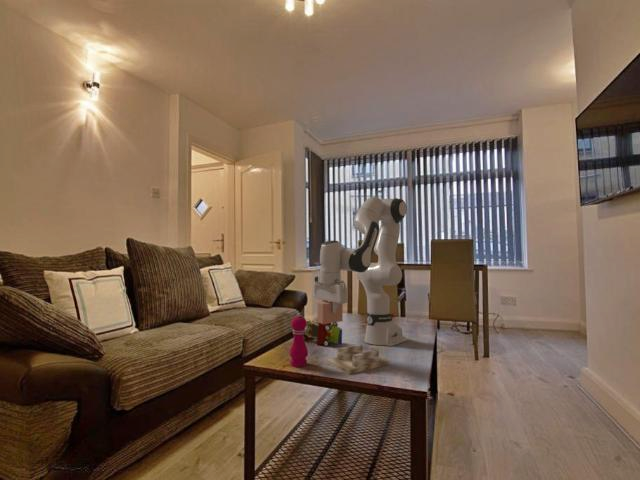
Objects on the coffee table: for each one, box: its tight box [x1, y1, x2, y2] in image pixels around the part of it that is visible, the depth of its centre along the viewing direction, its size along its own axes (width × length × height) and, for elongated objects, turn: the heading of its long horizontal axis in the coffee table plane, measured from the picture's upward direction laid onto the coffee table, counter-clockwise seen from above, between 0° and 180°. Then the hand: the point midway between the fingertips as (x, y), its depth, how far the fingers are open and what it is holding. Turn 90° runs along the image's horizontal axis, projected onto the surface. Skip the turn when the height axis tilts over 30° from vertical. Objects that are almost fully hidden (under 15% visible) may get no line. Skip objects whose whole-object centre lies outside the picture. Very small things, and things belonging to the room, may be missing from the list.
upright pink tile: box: [317, 301, 344, 324], centre depth 138 cm, size 10×4×8 cm, turn 123°
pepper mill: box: [289, 312, 309, 368], centre depth 128 cm, size 7×7×20 cm
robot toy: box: [304, 318, 343, 347], centre depth 159 cm, size 17×9×20 cm
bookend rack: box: [326, 344, 390, 375], centre depth 129 cm, size 20×14×6 cm
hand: (330, 311), depth 138 cm, fingers closed on upright pink tile, 4 cm apart
